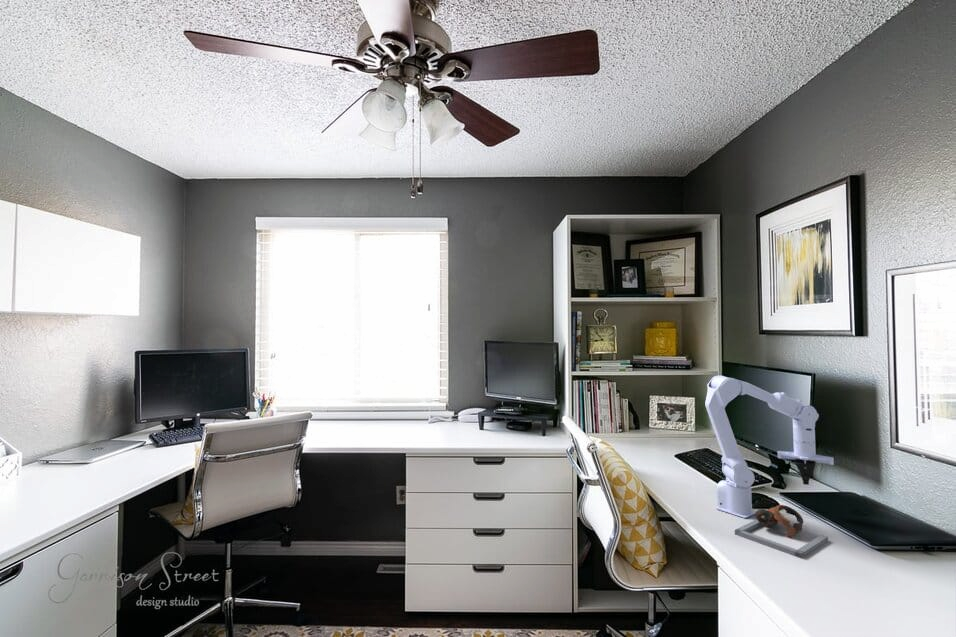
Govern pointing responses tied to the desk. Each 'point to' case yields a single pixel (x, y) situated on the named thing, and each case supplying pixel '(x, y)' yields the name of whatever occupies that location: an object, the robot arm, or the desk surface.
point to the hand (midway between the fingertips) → (805, 483)
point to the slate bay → (799, 553)
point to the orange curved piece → (780, 519)
